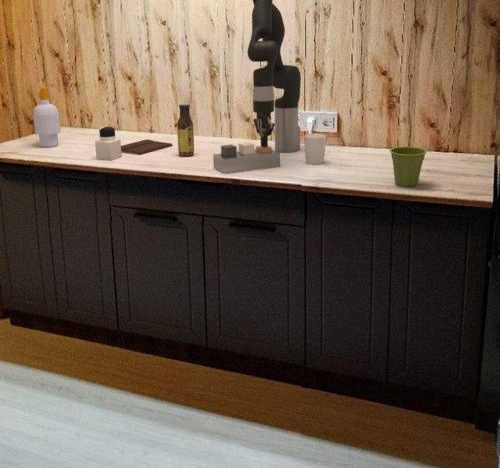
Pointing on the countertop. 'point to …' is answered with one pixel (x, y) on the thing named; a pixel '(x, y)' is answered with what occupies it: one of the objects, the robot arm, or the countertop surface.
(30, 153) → the countertop surface
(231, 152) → the charcoal key
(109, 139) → the medicine bottle
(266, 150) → the terracotta key
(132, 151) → the notebook
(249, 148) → the off-white cube
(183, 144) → the sauce bottle
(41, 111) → the soap bottle
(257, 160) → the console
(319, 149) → the grey cup
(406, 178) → the plant pot
